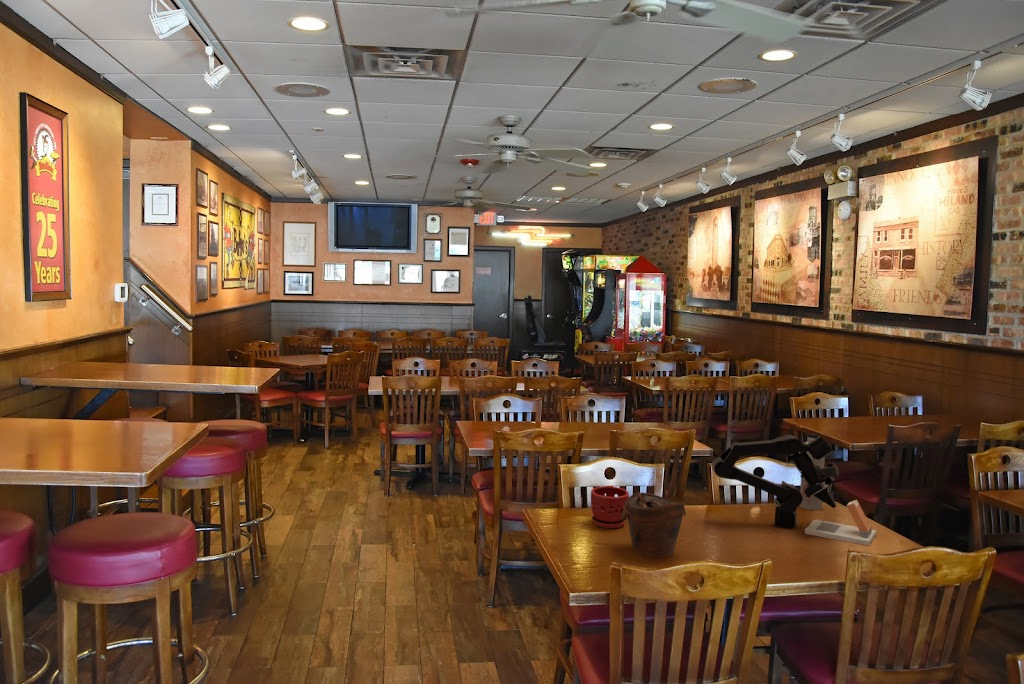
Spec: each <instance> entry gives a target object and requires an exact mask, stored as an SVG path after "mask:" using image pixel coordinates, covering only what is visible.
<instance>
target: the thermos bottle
mask: <svg viewBox="0 0 1024 684" xmlns="http://www.w3.org/2000/svg"><path fill="white" fill-rule="evenodd" d="M818 436H821V437H822V435H821V434H819V433H818V434H817V433H808V434H807V439H806V440H807V441H805V442H804V443H806V444H808V443H810V442H811V441H813V440H815V439H816V438H817V437H818ZM806 453H807V454H808V456H809V457H810V458H811V460H812V461H813V463H814V464H815V465H816V466H817V465H818V466H819V467H820V468H825V462H826V461H825V460H826V459H825V458H826V456H825V457H824V458H822V459H820V460H819V461H818V460H816V459H815V460H813V459H812V457H811V456H810V455H809V453H808V452H806ZM807 487H808V483H807V482H806V480H805V479H804V478H801V477H800V488H799V489H800V491H799V492H800V493H801V494H802V497H803V500H802V503H801V504H800V505H799V507H800V508H802V509H804V510H810V511H820V510H822V509H823V501H821V500H820V499H818V498H816V497H815V496H813V495H814V494H813V495H811V496H810V497H807V496H806V494H805V493H804V492H805V489H806V488H807ZM815 494H816V493H815Z"/></svg>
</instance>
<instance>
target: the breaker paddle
mask: <svg viewBox="0 0 1024 684" xmlns="http://www.w3.org/2000/svg"><path fill="white" fill-rule="evenodd" d="M846 508H847V510H848V513H850V515H851V517H852V520H853V522H854V523H855V525H856V527H858V529H859V531H860V533H861V531H866V532H869V531H870V529H871V526H872V525H871V524H870V522H869V520H868V519H867V517H866V515H865V512H864V511H863V509H862V507H861V505H860V503H859V502H858V500H857V499H855V500H852V501H849V502H848V503H847V505H846Z"/></svg>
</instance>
